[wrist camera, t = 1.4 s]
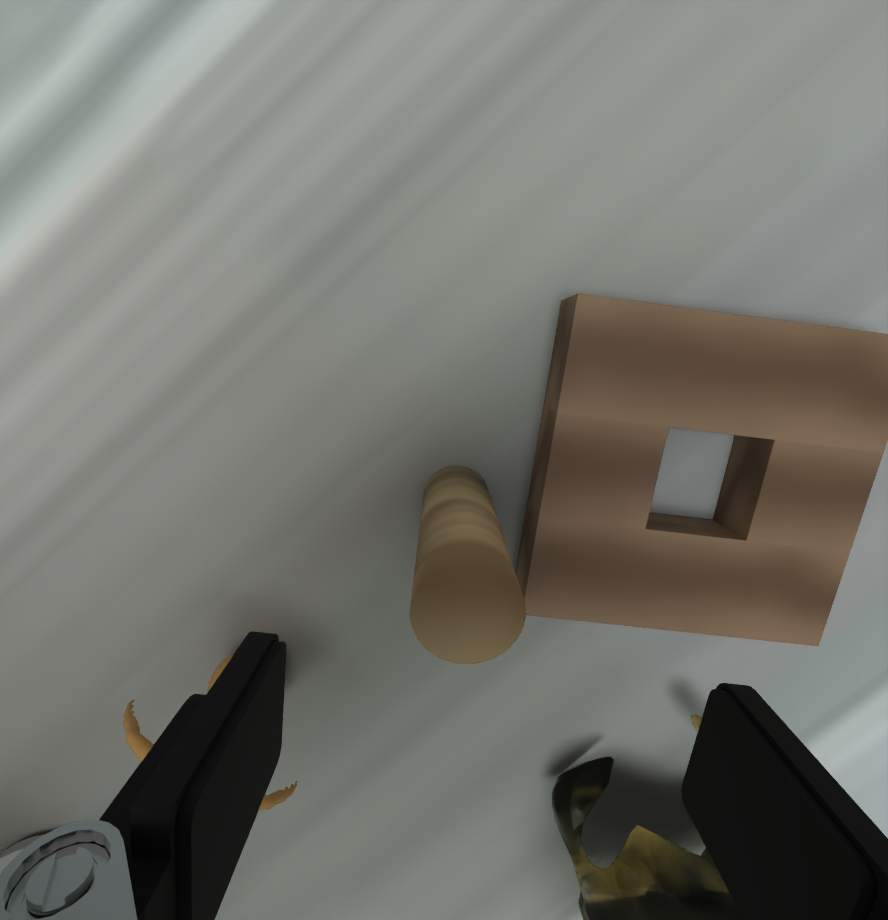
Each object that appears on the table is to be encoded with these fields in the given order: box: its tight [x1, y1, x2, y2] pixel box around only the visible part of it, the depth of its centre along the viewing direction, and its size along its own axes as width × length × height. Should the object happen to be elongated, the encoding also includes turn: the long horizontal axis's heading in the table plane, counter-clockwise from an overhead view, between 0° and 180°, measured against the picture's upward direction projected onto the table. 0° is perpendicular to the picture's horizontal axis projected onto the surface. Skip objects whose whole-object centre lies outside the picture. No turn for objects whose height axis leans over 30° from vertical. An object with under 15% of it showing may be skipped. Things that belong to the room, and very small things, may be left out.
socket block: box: [516, 294, 888, 646], centre depth 25 cm, size 16×16×3 cm
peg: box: [410, 466, 526, 664], centre depth 21 cm, size 4×4×12 cm
